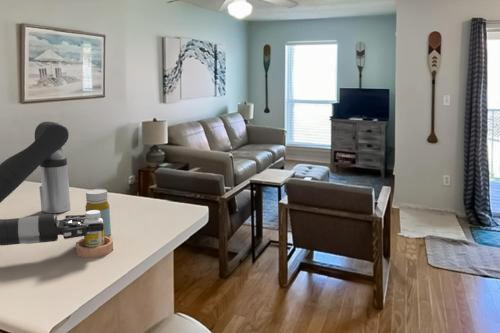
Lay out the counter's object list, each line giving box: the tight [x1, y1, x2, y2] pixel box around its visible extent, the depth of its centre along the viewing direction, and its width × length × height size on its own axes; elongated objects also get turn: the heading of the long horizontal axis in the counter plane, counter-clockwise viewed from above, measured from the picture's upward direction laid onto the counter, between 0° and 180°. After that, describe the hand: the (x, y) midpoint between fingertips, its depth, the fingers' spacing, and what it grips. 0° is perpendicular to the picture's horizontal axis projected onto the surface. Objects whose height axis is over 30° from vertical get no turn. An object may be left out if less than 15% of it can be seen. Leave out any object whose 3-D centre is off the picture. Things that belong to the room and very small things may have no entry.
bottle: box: [85, 188, 112, 238], centre depth 135 cm, size 7×7×15 cm
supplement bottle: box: [83, 210, 104, 247], centre depth 125 cm, size 5×5×10 cm
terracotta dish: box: [75, 236, 114, 258], centre depth 127 cm, size 10×10×2 cm
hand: (102, 223), depth 126 cm, fingers closed on supplement bottle, 5 cm apart
